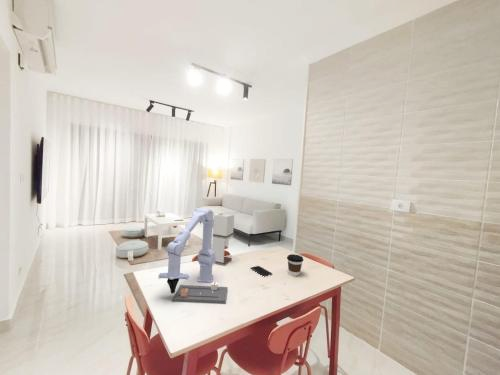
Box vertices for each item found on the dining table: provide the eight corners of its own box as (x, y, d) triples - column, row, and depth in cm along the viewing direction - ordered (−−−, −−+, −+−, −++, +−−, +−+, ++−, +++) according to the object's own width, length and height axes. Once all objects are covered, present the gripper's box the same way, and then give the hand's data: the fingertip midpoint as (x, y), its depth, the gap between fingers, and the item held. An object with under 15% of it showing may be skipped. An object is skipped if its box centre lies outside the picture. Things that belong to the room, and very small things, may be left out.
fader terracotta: (182, 293, 116) (182, 287, 116) (188, 293, 116) (188, 288, 116) (180, 296, 113) (180, 290, 113) (186, 296, 113) (186, 291, 113)
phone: (263, 276, 145) (249, 267, 157) (263, 277, 145) (249, 269, 157) (273, 273, 150) (258, 265, 162) (272, 275, 150) (258, 267, 162)
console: (180, 287, 125) (180, 284, 125) (227, 289, 126) (227, 286, 126) (172, 301, 111) (172, 298, 111) (225, 303, 112) (225, 300, 112)
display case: (224, 265, 159) (227, 216, 158) (211, 263, 163) (213, 214, 161) (231, 260, 170) (234, 214, 168) (218, 258, 174) (221, 212, 172)
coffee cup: (295, 279, 144) (296, 261, 144) (282, 273, 153) (283, 255, 152) (305, 275, 152) (307, 257, 151) (292, 269, 160) (293, 253, 159)
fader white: (211, 287, 124) (212, 281, 124) (217, 287, 124) (217, 282, 124) (211, 289, 121) (211, 284, 121) (216, 290, 121) (217, 284, 121)
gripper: (156, 268, 109) (155, 296, 110) (186, 270, 110) (185, 297, 110) (161, 262, 116) (160, 288, 117) (190, 264, 117) (188, 290, 117)
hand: (173, 292), depth 114 cm, fingers closed
